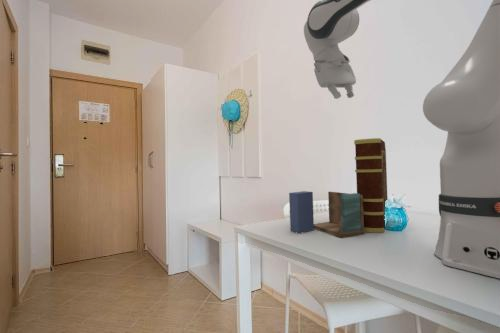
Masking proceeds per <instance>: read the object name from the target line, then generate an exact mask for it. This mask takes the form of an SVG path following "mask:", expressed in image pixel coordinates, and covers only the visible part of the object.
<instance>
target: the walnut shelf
mask: <svg viewBox="0 0 500 333" xmlns="http://www.w3.org/2000/svg"><path fill="white" fill-rule="evenodd" d="M327 194H328V195H327V196H328V218H329V219H328V220H329V221H327V222H319V223H314V230H316V229H317V231H319V230H320V232H322V233H326V234H329V235H331V236H334V237H337V238H341V239H343V238H349V237H355V236H359V235H360V236H361V235H364V234H365V232H364V216H363V195H360V194H358V193H357V192H353V193H345V192H337V191H328V193H327Z"/></svg>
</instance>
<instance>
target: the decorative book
mask: <svg viewBox="0 0 500 333" xmlns="http://www.w3.org/2000/svg"><path fill="white" fill-rule="evenodd" d="M353 145H355V147H354V148H355V157H354V160H355V169H354V171H355V174H356V175H355V176H356V193H358V194H360V195H363V216H364V233H370V234H371V233H373V234H374V233H375V234H379V233H380V234H381V233H384V232H385V230H386V227H385V220H384V219H385V216H384V215H385V201H386V200H388V177H387V152H386V151H387V150H386V148H387V147H386V142H385V141H384V140H383V139H382V138H381V137H380V138H379V137H378V138H377V137H376V138H374V137H373V138H362V139H361V138H360V139H355V140H353Z"/></svg>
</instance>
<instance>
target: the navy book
mask: <svg viewBox="0 0 500 333" xmlns="http://www.w3.org/2000/svg"><path fill="white" fill-rule="evenodd" d="M288 194H289V196H288V197H289V198H288V200H289V222H290V223H289V225H290V226H289V228H290V230H291V231H290V232H292V231H294V232H293V233H295V232H297V233H296V234H302V233H301V232H303V233H307V232H306V231H308V232H311V231H310V230H312V231H314V230H315V229H314V224H315V222H314V219H315V218H314V196H313V194H314V193H313V191H306V190H302V191H294V192H289V193H288Z"/></svg>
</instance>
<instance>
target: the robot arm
mask: <svg viewBox="0 0 500 333" xmlns="http://www.w3.org/2000/svg"><path fill="white" fill-rule="evenodd" d="M370 1H371V0H318V1H317V2H316V3H315V4H314V5H313V6H312V7H311V9H310V11H309V12H308V14H307V20H306V22H305V24H304V26H303V35H304V38H305V42H306V44H307V46H308V50H309V51H310V52H311V53H312V56H313V60H314V61H313V65H314V69H313V70H314V76H315V77H316V81H317V83H318V86H319V87H320V88H327V89H328V91H329V92H330V93H331V95H332V96H333V98H334V99H335V100H337V99H340V98H341V97H342V95H341V93H340V91H338V88H344V90H346V96H347V98H348V99H352V98H353V97H354V96H355V94H354V91H353V90H354V89H353V85H355V84H356V83H357V79H356V76H355V73H354V70H353V68H352V66H351V64H350V63H351V62H350V61H351V60H350V58H349V57H348V56H347V55H345V54H344V53H343V52H342V51H341V50H340V48H339V47H340V46H339V44H340V43H342V42H344V41H346V40H347V39H349V38H350V37H352V36H353V35H354V34H355V33H356V32H357V30H358V29H359V28H358V27H359V24H360V14H359V12H358V9H359V8H360V7H362V6H363V5H365V4H366V3H368V2H370ZM422 113H423V115H424V117H425V118H426V120H427V121H428V122H429V123H430V124H432V125H433V126H435V127H436V128H438V130H441V131H445V132H447V135H446V136H447V138H446V143H445V148H444V151H443V154H442V156H441V158H440V161H439V178H440V181H439V182H440V194H438V212H439V216H440V221H439V222H440V223H439V229H438V230H439V231H438V238H437V241H436V242H437V243H436V245H435V249H434V250H433V251H434V252H433V253H434V255H435V256H436V257H437V258H438V259H440V260H441V262H442V264H443V265H445V266H448V267H452V268H456V269H460V270H463V271H467V272H472V273H476V274H480V275H483V276H487V277H492V278H496V279H500V0H492V1H491V4H490V6H489V7H488V9H487V11H486V13H485V15H484V17H483V19H482V21H481V23H480V25H479V26H478V29H477V30H476V32H475V34H474V36H473V38H472V40H471V42H470V43H469V45H468V47H467V49H466V50H465V51H464V52H463V54H462V55H461V57H460V59H459V60H457V62H456V63H455V65H454V66H453V67H452V69H451V70H450V72H448V74H447V75H446V76H445V78H443V80H441V82H440V83H438V84H436V85H435V86H433V87H432V88H431V89H430V90H429V91H428V92H427V94H426V96H425V98H424V99H423V104H422Z"/></svg>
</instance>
